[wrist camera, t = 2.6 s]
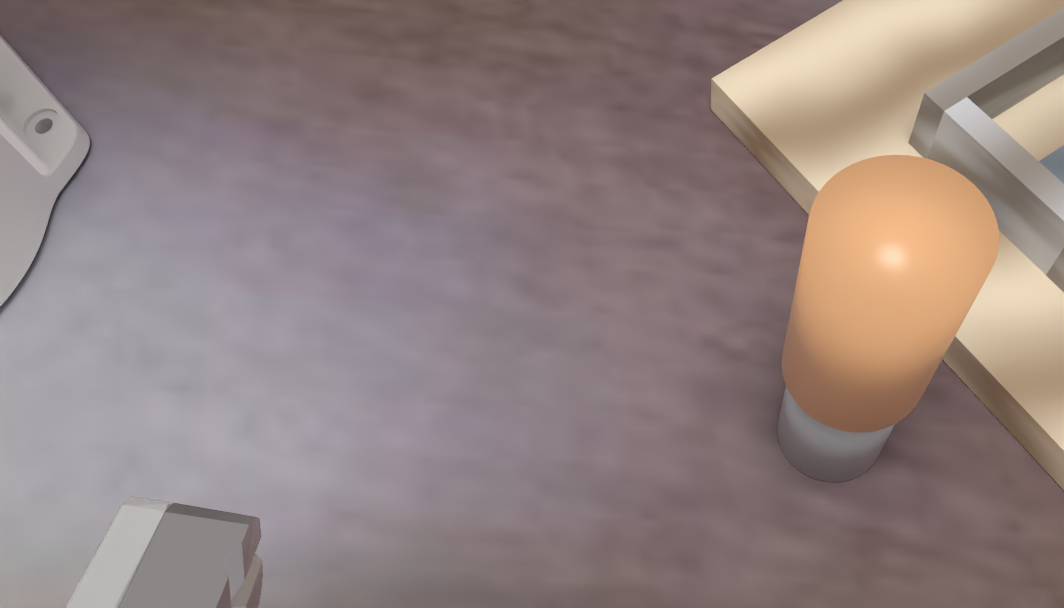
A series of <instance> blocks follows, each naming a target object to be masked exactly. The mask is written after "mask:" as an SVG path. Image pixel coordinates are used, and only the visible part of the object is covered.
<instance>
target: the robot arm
mask: <svg viewBox="0 0 1064 608" xmlns="http://www.w3.org/2000/svg"><path fill="white" fill-rule="evenodd" d="M47 131H48V132H47ZM89 146H90V139H89V136H88V134H87V133H86V131H85V130H84V129H83V128H82V127H81V125H80V124H79V123H78V122H77V121H76V120H75V119H74V118H73V116H72V115H71V114H70V113H69V112H68V111H67V110H66V108H65V107H64V106H63V105H62V104H61V103H60V102H59V101H58V99H57V98H56V97H55V96H54V95H53V94H52V93H51V91H50V90H49V89H48V88H47V87H46V86H45V85H44V84H43V82H42V81H41V80H40V79H39V78H38V77H37V76H36V74H35V73H34V72H33V71H32V70H31V69H30V68H29V67H28V65H27V64H26V63H25V62H24V61H23V60H22V59H21V57H20V56H19V55H18V54H17V53H16V52H15V51H14V50H13V48H12V47H11V46H10V45H9V44H8V43H7V42H6V41H5V39H4V38H3V37H2V36H1V35H0V306H1V305H2V304H3V303H4V302H5V301H6V300H7V298H8V297H9V296H10V295H11V293H12V292H13V291H14V289H15V288H16V287H17V285H18V284H19V282H20V281H21V280H22V278H23V277H24V275H25V273H26V272H27V270H28V268H29V267H30V265H31V263H32V261H33V259H34V257H35V255H36V253H37V251H38V249H39V247H40V244H41V242H42V239H43V236H44V233H45V230H46V227H47V224H48V220H49V217H50V214H51V210H52V208H53V205H54V202H55V200H56V198H57V196H58V194H59V193H60V191H61V190H62V189H63V188H64V186H65V185H66V184H67V182H68V181H69V180H70V178H71V177H72V176H73V174H74V173H75V172H76V170H77V169H78V167H79V166H80V164H81V163H82V161H83V160H84V158H85V156H86V154H87V152H88V150H89ZM260 538H261V531H260V520H259V518H257V517H253V516H247V515H241V514H235V513H229V512H224V511H218V510H212V509H206V508H200V507H194V506H188V505H183V504H177V503H170V502H163V501H157V500H151V499H144V498H138V497H130V498H129V499H128V500H127V501H126V502H125V503H124V504H123V505H122V506H121V507H120V508H119V510H118V512H117V514H116V515H115V517H114V519H113V521H112V523H111V525H110V526H109V528H108V530H107V532H106V534H105V536H104V537H103V539H102V541H101V543H100V545H99V547H98V548H97V550H96V552H95V554H94V556H93V558H92V559H91V561H90V563H89V565H88V567H87V569H86V570H85V572H84V574H83V576H82V578H81V580H80V581H79V583H78V585H77V587H76V589H75V591H74V592H73V594H72V596H71V598H70V600H69V602H68V603H67V605H66V607H65V608H258V604H259V599H260V595H261V587H262V577H263V570H262V561H261V560H260V559H259V557H258V556H257V555H256V554H255V552H256V549H257V546H258V544H259V541H260Z"/></svg>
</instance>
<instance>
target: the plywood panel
mask: <svg viewBox="0 0 1064 608" xmlns="http://www.w3.org/2000/svg"><path fill="white" fill-rule="evenodd" d="M711 110H712V111H713V112H714V113H715V114H716V115H717V116H718V117H719V119H720V120H721V121H722V122H723V123H724V124H725V125H726V126H727V127H728V128H729V129H730V130H731V132H732V133H733V134H734V135H735V136H736V137H737V138H738V139H739V140H740V141H741V142H742V143H743V144H744V146H745V147H746V148H747V149H748V150H749V151H750V152H751V153H752V154H753V155H754V156H755V157H756V159H757V160H758V161H759V162H760V163H761V164H762V165H763V166H764V167H765V168H766V169H767V170H768V171H769V173H770V174H771V175H772V176H773V177H774V178H775V179H776V180H777V181H778V182H779V183H780V184H781V186H782V187H783V188H784V189H785V190H786V191H787V192H788V193H789V194H790V195H791V196H792V197H793V198H794V200H795V201H796V202H797V203H798V204H799V205H800V206H801V207H802V208H803V209H804V210H805V211H806V213H807V214H808V215H810V210H811V207H812V205H813V202H814V200H815V198H816V196H817V194H818V193H819V191H820V190H821V188H822V187H823V186H824V185H825V183H826V182H827V181H828V180H830V179H831V178H832V177H833V176H834V175H835V174H837V173H838V172H839V171H841V170H842V169H844V168H846V167H848V166H850V165H851V164H854V163H856V162H859V161H861V160H864V159H868V158H872V157H877V156H884V155H910V156H916V157H922V158H926V159H930V160H933V161H936V162H938V163H941V164H944V165H946V166H948V167H950V168H952V169H954V170H955V171H957V172H959V173H960V174H962V175H963V176H965V177H966V178H967V179H968V180H969V181H971V182H972V183H973V184H974V185H975V186H976V187H977V188H978V189H979V190H980V191H981V192H982V194H983V195H984V196H985V198H986V199H987V201H988V202H989V204H990V206H991V208H992V210H993V212H994V214H995V217H996V220H997V224H998V229H999V249H998V254H997V258H996V261H995V264H994V266H993V268H992V270H991V272H990V273H989V275H988V277H987V279H986V281H985V283H984V284H983V286H982V288H981V290H980V292H979V293H978V295H977V297H976V299H975V301H974V303H973V304H972V306H971V308H970V310H969V312H968V313H967V315H966V317H965V319H964V321H963V323H962V324H961V326H960V328H959V330H958V332H957V334H956V335H955V337H954V339H953V341H952V343H951V344H950V346H949V348H948V350H947V352H946V354H945V355H944V357H943V360H944V362H945V363H946V364H947V365H948V366H949V367H950V368H951V369H952V370H953V371H954V372H955V373H956V374H957V376H958V377H959V378H960V379H961V380H962V381H963V382H964V383H965V384H966V385H967V386H968V387H969V389H970V390H971V391H972V392H973V393H974V394H975V395H976V396H977V397H978V398H979V399H980V400H981V401H982V403H983V404H984V405H985V406H986V407H987V408H988V409H989V410H990V411H991V412H992V413H993V414H994V415H995V417H996V418H997V419H998V420H999V421H1000V422H1001V423H1002V424H1003V425H1004V426H1005V427H1006V428H1007V430H1008V431H1009V432H1010V433H1011V434H1012V435H1013V436H1014V437H1015V438H1016V439H1017V440H1018V441H1019V442H1020V444H1021V445H1022V446H1023V447H1024V448H1025V449H1026V450H1027V451H1028V452H1029V453H1030V454H1031V455H1032V457H1033V458H1034V459H1035V460H1036V461H1037V462H1038V463H1039V464H1040V465H1041V466H1042V467H1043V468H1044V469H1045V471H1046V472H1047V473H1048V474H1049V475H1050V476H1051V477H1052V478H1053V479H1054V480H1055V481H1056V482H1057V484H1058V485H1059V486H1060V487H1061V488H1062V489H1063V490H1064V0H843V1H842V2H840V3H838V4H836V5H835V6H833V7H831V8H830V9H828V10H826V11H825V12H823V13H821V14H820V15H818V16H816V17H815V18H813V19H811V20H810V21H808V22H806V23H804V24H803V25H801V26H799V27H798V28H796V29H794V30H793V31H791V32H789V33H788V34H786V35H784V36H783V37H781V38H779V39H778V40H776V41H774V42H773V43H771V44H769V45H767V46H766V47H764V48H762V49H761V50H759V51H757V52H756V53H754V54H752V55H751V56H749V57H747V58H746V59H744V60H742V61H741V62H739V63H737V64H736V65H734V66H732V67H730V68H729V69H727V70H725V71H724V72H722V73H720V74H719V75H717V76H715V77H714V78H712V82H711Z"/></svg>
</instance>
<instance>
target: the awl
mask: <svg viewBox="0 0 1064 608" xmlns="http://www.w3.org/2000/svg"><path fill="white" fill-rule="evenodd" d="M998 249H999V229H998V224H997V220H996V217H995V214H994V212H993V210H992V208H991V206H990V204H989V202H988V201H987V199H986V198H985V196H984V195H983V194H982V192H981V191H980V190H979V189H978V188H977V187H976V186H975V185H974V184H973V183H972V182H971V181H969V180H968V179H967V178H966V177H965V176H963V175H962V174H960V173H959V172H957V171H955V170H954V169H952V168H950V167H948V166H946V165H944V164H941V163H938V162H936V161H933V160H930V159H926V158H922V157H916V156H910V155H884V156H877V157H872V158H868V159H864V160H861V161H859V162H856V163H854V164H851V165H850V166H848V167H846V168H844V169H842V170H841V171H839V172H838V173H837V174H835V175H834V176H833V177H832V178H831V179H830V180H828V181H827V182H826V183H825V185H824V186H823V187H822V188H821V190H820V191H819V193H818V194H817V196H816V198H815V200H814V202H813V205H812V207H811V210H810V215H809V219H808V225H807V230H806V235H805V240H804V245H803V250H802V256H801V261H800V266H799V271H798V276H797V281H796V286H795V292H794V297H793V302H792V307H791V312H790V317H789V323H788V328H787V333H786V338H785V343H784V348H783V354H782V373H783V377H784V381H785V384H786V388H785V392H784V397H783V402H782V406H781V411H780V415H779V420H778V426H777V434H778V440H779V444H780V447H781V449H782V451H783V453H784V455H785V456H786V458H787V459H788V461H789V462H790V463H791V464H792V465H793V466H794V467H795V468H796V469H797V470H799V471H800V472H802V473H803V474H805V475H807V476H809V477H811V478H814V479H816V480H820V481H825V482H843V481H848V480H851V479H854V478H856V477H858V476H860V475H862V474H864V473H865V472H866V471H867V470H869V469H870V467H871V466H872V465H873V464H874V463H875V461H876V460H877V458H878V456H879V454H880V452H881V450H882V448H883V446H884V444H885V443H886V441H887V439H888V437H889V435H890V433H891V431H892V429H893V427H894V425H895V424H896V423H898V422H899V421H901V420H902V419H904V418H905V417H906V416H908V415H909V414H910V412H911V411H912V410H913V409H914V408H915V407H916V405H917V404H918V402H919V401H920V399H921V397H922V395H923V394H924V392H925V390H926V388H927V386H928V384H929V383H930V381H931V379H932V377H933V375H934V374H935V372H936V370H937V368H938V366H939V364H940V363H941V361H942V359H943V357H944V355H945V354H946V352H947V350H948V348H949V346H950V344H951V343H952V341H953V339H954V337H955V335H956V334H957V332H958V330H959V328H960V326H961V324H962V323H963V321H964V319H965V317H966V315H967V313H968V312H969V310H970V308H971V306H972V304H973V303H974V301H975V299H976V297H977V295H978V293H979V292H980V290H981V288H982V286H983V284H984V283H985V281H986V279H987V277H988V275H989V273H990V272H991V270H992V268H993V266H994V264H995V261H996V258H997V254H998Z"/></svg>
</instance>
